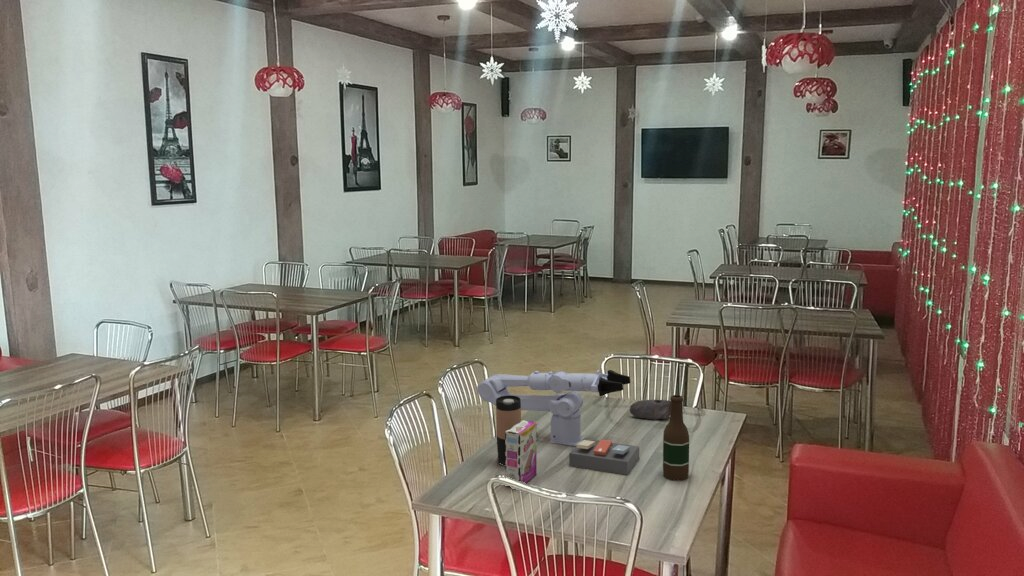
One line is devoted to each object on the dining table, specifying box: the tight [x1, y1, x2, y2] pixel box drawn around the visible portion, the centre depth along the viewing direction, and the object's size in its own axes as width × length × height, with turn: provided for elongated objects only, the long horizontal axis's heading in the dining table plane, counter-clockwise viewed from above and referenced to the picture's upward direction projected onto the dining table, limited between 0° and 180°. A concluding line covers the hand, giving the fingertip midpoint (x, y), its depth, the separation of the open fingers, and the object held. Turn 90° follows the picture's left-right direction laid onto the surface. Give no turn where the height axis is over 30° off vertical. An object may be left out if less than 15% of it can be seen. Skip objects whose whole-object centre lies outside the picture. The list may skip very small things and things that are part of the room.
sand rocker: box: [575, 440, 595, 449], centre depth 231 cm, size 4×7×1 cm, turn 155°
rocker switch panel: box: [568, 438, 640, 476], centre depth 230 cm, size 18×13×4 cm
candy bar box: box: [505, 419, 538, 484], centre depth 217 cm, size 11×5×16 cm, turn 152°
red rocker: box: [593, 439, 613, 456], centre depth 228 cm, size 4×7×1 cm, turn 155°
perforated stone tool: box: [629, 399, 671, 421], centre depth 267 cm, size 15×5×7 cm, turn 74°
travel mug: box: [495, 396, 522, 466], centre depth 231 cm, size 8×8×20 cm
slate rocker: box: [612, 445, 630, 454], centre depth 226 cm, size 4×7×1 cm, turn 155°
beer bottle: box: [662, 394, 690, 481], centre depth 218 cm, size 8×8×24 cm
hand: (626, 383), depth 237 cm, fingers open, 7 cm apart
